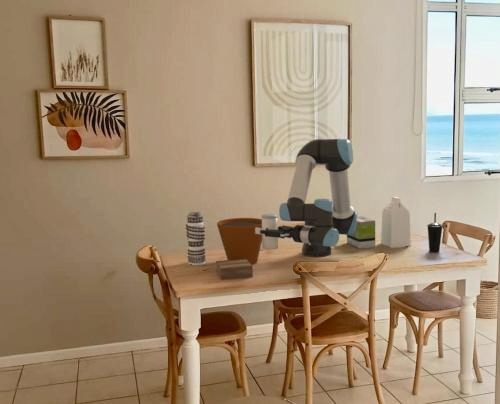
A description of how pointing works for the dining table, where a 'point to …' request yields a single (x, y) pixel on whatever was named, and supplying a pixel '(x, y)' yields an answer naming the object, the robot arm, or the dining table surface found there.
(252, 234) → the flower pot
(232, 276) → the pedestal
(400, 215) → the milk
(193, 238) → the striped cylindrical tower
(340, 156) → the robot arm
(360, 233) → the tea box
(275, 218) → the glass jar
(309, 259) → the dining table surface
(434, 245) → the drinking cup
